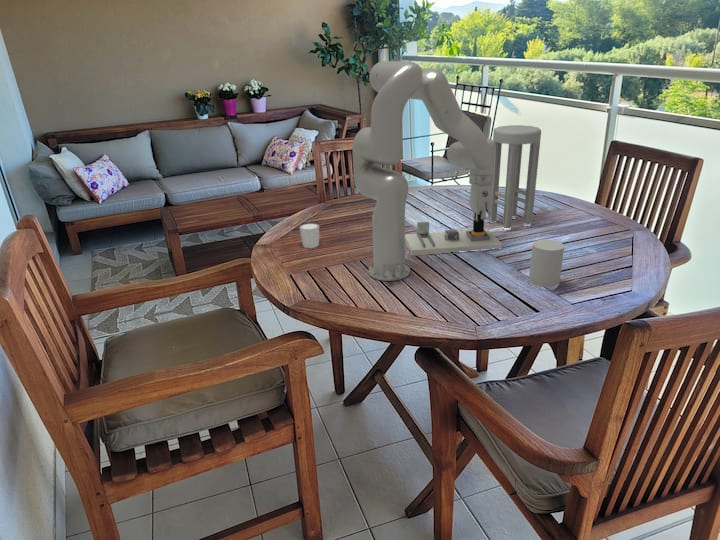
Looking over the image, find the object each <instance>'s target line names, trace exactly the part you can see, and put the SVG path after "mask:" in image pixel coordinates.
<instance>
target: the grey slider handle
mask: <svg viewBox="0 0 720 540" xmlns="http://www.w3.org/2000/svg"><path fill="white" fill-rule="evenodd" d="M417 233H418V234H420V236H421V237H422V238H427V234H426V233H430V221H420V222H419V221H417V223H416V234H417Z"/></svg>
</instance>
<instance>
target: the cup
mask: <svg viewBox="0 0 720 540" xmlns="http://www.w3.org/2000/svg"><path fill="white" fill-rule="evenodd" d="M564 252H565V244H564V243H563V242H560V241H558V240H555V239H554V240H553V239H538V240H535V241H533V242H532V248H531V258H530V267H529V278H528V282H529V281H530V282H531V283H532V284H534V285H537V286H543V287H551V286H555V285H557V284H559V285H560V283H561V273H562V266H563V260H564ZM559 282H560V283H559Z"/></svg>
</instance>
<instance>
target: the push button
mask: <svg viewBox="0 0 720 540" xmlns="http://www.w3.org/2000/svg"><path fill="white" fill-rule="evenodd" d="M471 230H472V231H471V236H472V237H477V236H484V235H485V231H483V232H474V231H473V229H471Z"/></svg>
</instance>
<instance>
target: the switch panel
mask: <svg viewBox="0 0 720 540" xmlns="http://www.w3.org/2000/svg"><path fill="white" fill-rule="evenodd" d="M472 230H473V229H469V230H457V231H458V232H459V235H457V236H453V237H447V234H446V233H445V231H441V232H439V231H437V232H429V233H426V234H427V238H422V237H421V236H420V234H418V233H417V232H416V233H412V234H411V233H409V234H408V233H407V234H406V233H405V245H406V247H407V248H408V251H409V253H410V255H411V257H418V255H419V256H428V255H427V254H434V255H442V254H441V253H449V254H451V253H450V252H459V251H471V250H481V249H492V248H502V249H503V243H502V242H501V241H500V240H499V239H498V238H497V237H496V235H494V234H493V232H492V231H491V230H489V228H484V231H485V235H484V236H477V237H472V236H471V231H472Z"/></svg>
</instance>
